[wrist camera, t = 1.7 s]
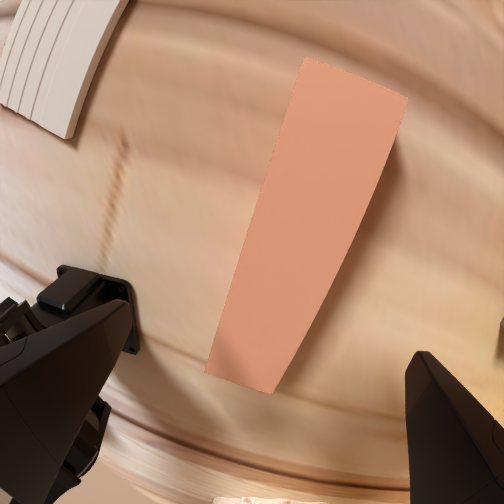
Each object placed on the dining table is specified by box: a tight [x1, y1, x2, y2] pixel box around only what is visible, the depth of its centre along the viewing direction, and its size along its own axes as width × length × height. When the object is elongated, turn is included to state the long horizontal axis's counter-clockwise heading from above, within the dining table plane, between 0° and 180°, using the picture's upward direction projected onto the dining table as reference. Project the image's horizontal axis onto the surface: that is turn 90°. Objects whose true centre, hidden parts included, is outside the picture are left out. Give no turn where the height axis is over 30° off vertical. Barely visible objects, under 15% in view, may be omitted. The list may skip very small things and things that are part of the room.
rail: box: [204, 57, 409, 395], centre depth 15 cm, size 16×4×4 cm, turn 163°
